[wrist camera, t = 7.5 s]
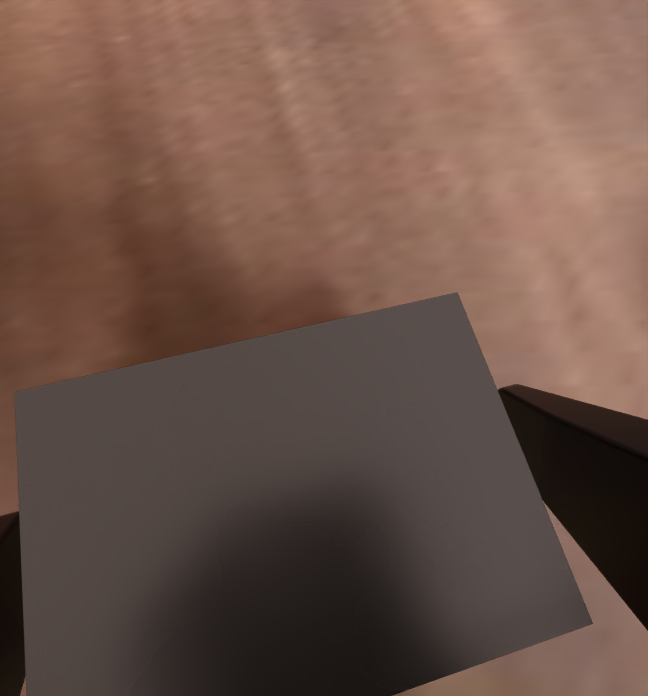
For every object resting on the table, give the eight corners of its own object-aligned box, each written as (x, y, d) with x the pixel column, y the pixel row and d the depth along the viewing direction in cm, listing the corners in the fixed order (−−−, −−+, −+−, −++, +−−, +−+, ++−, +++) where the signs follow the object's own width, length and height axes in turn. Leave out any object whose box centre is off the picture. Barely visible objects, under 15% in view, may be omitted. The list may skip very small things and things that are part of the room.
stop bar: (382, 544, 15) (592, 623, 4) (229, 592, 15) (32, 823, 4) (351, 437, 17) (457, 292, 6) (208, 475, 16) (14, 392, 5)
